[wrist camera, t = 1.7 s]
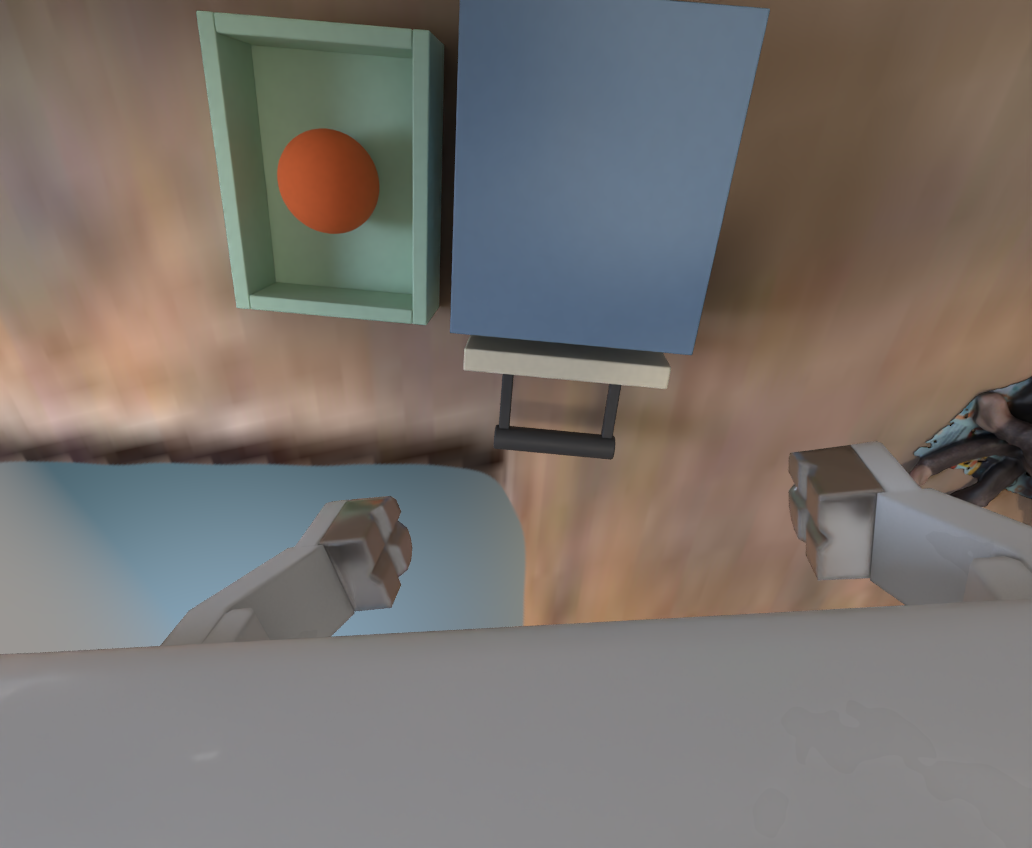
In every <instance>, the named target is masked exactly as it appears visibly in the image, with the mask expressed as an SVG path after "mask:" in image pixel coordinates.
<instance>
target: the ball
mask: <svg viewBox="0 0 1032 848" xmlns="http://www.w3.org/2000/svg"><path fill="white" fill-rule="evenodd" d="M277 181H278V187H279V191H280V194H281V196H282V199H283V201H284V203H285V205H286V206H287V208H288V209H289V211H290V212H291V213H292V214H293V215H294V216H295V217H296V218H297V219H298V220H299V221H300V222H302V223H303V224H304V225H306V226H308V227H309V228H311V229H314V230H316V231H319V232H323V233H329V234H340V233H346V232H349V231H352V230H354V229H356V228H358V227H359V226H361V225H362V224H363V223H365V222H366V221H367V220H368V218H369V217H370V216H371V214H372V213H373V211H374V209H375V207H376V205H377V201H378V197H379V178H378V173H377V170H376V167H375V164H374V162H373V160H372V159H371V157H370V155H369V154H368V152H367V151H366V150H365V149H364V148H363V147H362V146H361V145H360V144H359V143H358V142H357V141H356V140H355V139H353V138H352V137H350V136H349V135H347V134H344V133H342V132H340V131H336V130H333V129H327V128H319V129H311V130H308V131H305V132H303V133H301V134H299V135H298V136H296V137H295V138H293V139H292V140H291V141H290V142H289V143H288V144H287V146H286V147H285V149H284V150H283V152H282V154H281V157H280V159H279V163H278V168H277Z"/></svg>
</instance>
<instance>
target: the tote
mask: <svg viewBox="0 0 1032 848" xmlns="http://www.w3.org/2000/svg"><path fill="white" fill-rule="evenodd" d="M196 15H197V22H198V29H199V36H200V44H201V51H202V58H203V66H204V73H205V80H206V87H207V95H208V102H209V109H210V117H211V124H212V131H213V139H214V146H215V153H216V160H217V168H218V175H219V182H220V190H221V197H222V204H223V211H224V219H225V226H226V233H227V241H228V248H229V255H230V263H231V270H232V277H233V284H234V292H235V299H236V306H237V308H243V309H255V310H266V311H277V312H287V313H298V314H309V315H320V316H331V317H342V318H353V319H363V320H374V321H385V322H396V323H407V324H412V323H413V324H417V325H427V324H428V322H429V321H430V319H431V318H432V316H433V315H434V313H435V312H436V310H437V309H438V308H439V287H440V238H441V189H442V139H443V90H444V44H443V43H441V42H440V41H439V40H438V39H437V38H436V37H435V36H434V35H433V34H432V33H431V32H430V31H429V30H419V29H413V30H412V29H407V28H396V27H384V26H372V25H361V24H349V23H337V22H325V21H314V20H302V19H290V18H279V17H267V16H255V15H244V14H232V13H220V12H215V13H214V12H210V11H196ZM319 128H327V129H333V130H336V131H340V132H342V133H344V134H347V135H349V136H350V137H352V138H353V139H355V140H356V141H357V142H358V143H359V144H360V145H361V146H362V147H363V148H364V149H365V150H366V151H367V152H368V154H369V155H370V157H371V159H372V160H373V162H374V164H375V167H376V170H377V173H378V178H379V197H378V201H377V205H376V207H375V209H374V211H373V213H372V214H371V216H370V217H369V218H368V220H367V221H366V222H365V223H363V224H362V225H361V226H359V227H358V228H356V229H354V230H352V231H349V232H346V233H340V234H329V233H323V232H319V231H316V230H314V229H311V228H309V227H308V226H306V225H304V224H303V223H302V222H300V221H299V220H298V219H297V218H296V217H295V216H294V215H293V214H292V213H291V212H290V211H289V209H288V208H287V206H286V205H285V203H284V201H283V199H282V196H281V194H280V191H279V187H278V181H277V168H278V163H279V159H280V157H281V154H282V152H283V150H284V149H285V147H286V146H287V144H288V143H289V142H290V141H291V140H292V139H293V138H295V137H296V136H298V135H299V134H301V133H303V132H305V131H308V130H311V129H319Z"/></svg>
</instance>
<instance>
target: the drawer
mask: <svg viewBox="0 0 1032 848" xmlns="http://www.w3.org/2000/svg"><path fill="white" fill-rule="evenodd" d="M464 370H467V371H478V372H488V373H499V374H503V376H502V390H501V404H500V417H499V425H496V427H495V435H494V448H495V449H506V450H516V451H527V452H537V453H548V454H558V455H569V456H580V457H590V458H601V459H613V456H614V452H615V437H614V436H613V430H614V424H615V419H616V413H617V407H618V401H619V395H620V390H621V385H628V386H639V387H650V388H660V389H667V387H668V382H669V377H670V372H671V367H670V365H669V363H668V361H667V359H666V358H665V356H664V354H663V352H652V351H641V350H630V349H619V348H609V347H598V346H587V345H576V344H565V343H554V342H544V341H533V340H522V339H511V338H500V337H489V336H479V335H470V337H469V340H468V342H467V344H466V347H465V349H464ZM514 375H521V376H531V377H542V378H553V379H564V380H574V381H585V382H596V383H607V384H609V389H608V395H607V401H606V407H605V413H604V419H603V426H602V432H601V434H602V435H599V434H589V433H578V432H568V431H557V430H546V429H536V428H525V427H514V426H509V425H510V413H511V401H512V389H513V377H514Z"/></svg>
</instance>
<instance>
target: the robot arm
mask: <svg viewBox="0 0 1032 848" xmlns="http://www.w3.org/2000/svg"><path fill="white" fill-rule="evenodd" d="M789 474H790V476H791V478H792V480H793V482H794V485H793V486H792V488H791V489H790V490H789V509H790V515H791V521H792V524H793V527H794V530H795V532H796V535H797V537H798V539H800V540H801V541H803V542H805V543H806V556H807V558H808V560H809V563H810V565H811V567H812V569H813V571H814V573H815V575H816V577H817V579H818V580H836V579H861V578H870V580H871V581H872V582H873V583H875V584H876V585H878V586H879V587H880V588H882V589H883V590H885V591H886V592H888V593H889V594H890V595H892V596H893V597H895V598H896V599H897V600H899V601H900V602H902V603H903V604H905V605H904V606H885V607H867V608H848V609H830V610H812V611H793V612H775V613H757V614H739V615H720V616H702V617H684V618H666V619H647V620H629V621H611V622H592V623H574V624H556V625H537V626H519V627H501V628H482V629H465V630H447V631H427V632H408V633H391V634H372V635H354V636H336V637H331V636H332V635H333V634H334V633H335V632H336V631H337V630H338V629H339V628H340V627H341V626H342V625H343V624H344V623H345V622H346V621H347V620H348V619H349V618H350V617H351V616H352V615H353V614H354V611H362V610H374V609H384V608H391V607H392V604H393V602H394V600H395V598H396V595H397V593H398V591H399V589H400V586H401V583H400V581H399V579H398V577H399V576H401V575H402V574H403V573H404V572H405V571H407V570H408V567H409V564H410V562H411V556H412V543H411V537H410V534H409V531H408V529H407V527H405V526H404V525H403V524H402V523H400V522H399V521H398V518H399V516H400V513H401V510H400V508H399V505H398V503H397V501H396V499H394V498H393V497H391V496H387V497H374V498H364V499H352V500H341V501H334V502H329V503H326V504H325V505H324V507H323V508H322V509H321V511H320V512H319V514H318V515H317V517H316V518H315V519H314V521H313V522H312V524H311V525H310V526H309V528H308V529H307V531H306V532H305V533H304V535H303V536H302V538H301V539H300V541H299V542H298V543H297V545H296V546H295V547H292V548H287V549H286V550H284V551H283V552H281V553H279V554H278V555H276V556H275V557H273V558H272V559H270V560H269V561H267V562H265V563H264V564H262V565H261V566H259V567H257V568H256V569H254V570H253V571H251V572H249V573H248V574H246V575H245V576H243V577H242V578H240V579H238V580H237V581H235V582H234V583H232V584H230V585H229V586H228V587H226V588H224V589H223V590H221V591H220V592H218V593H216V594H215V595H213V596H211V597H210V598H208V599H207V600H205V601H204V602H202V603H200V604H199V605H197V606H196V607H194V608H192V609H191V610H190V611H189V612H188V613H187V614H186V615H185V616H184V617H183V619H182V620H181V621H180V622H179V623H178V625H177V626H176V627H175V628H174V630H173V631H172V632H171V633H170V634H169V636H168V637H167V638H166V639H165V641H164V642H163V643H162V644H161V645H160V646H151V647H134V648H115V649H98V650H78V651H61V652H43V653H17V654H0V848H1032V526H1029V525H1026V524H1024V523H1021V522H1019V521H1016V520H1013V519H1011V518H1008V517H1005V516H1003V515H1000V514H998V513H995V512H992V511H990V510H987V509H984V508H982V507H979V506H977V505H974V504H971V503H969V502H966V501H963V500H961V499H958V498H956V497H953V496H950V495H948V494H945V493H942V492H940V491H937V490H935V489H932V488H927V489H921V488H920V486H919V485H918V484H917V483H916V482H915V481H914V480H913V478H912V477H911V476H910V475H909V474H908V473H907V471H906V470H905V469H904V468H903V467H902V466H901V465H900V463H899V462H898V461H897V460H896V459H895V458H894V457H893V455H892V454H891V453H890V452H889V451H888V450H887V449H886V447H885V446H884V445H883V444H882V443H880V442H878V441H873V442H866V443H859V444H852V445H847V446H839V447H832V448H824V449H817V450H809V451H801V452H794V453H790V456H789Z"/></svg>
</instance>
